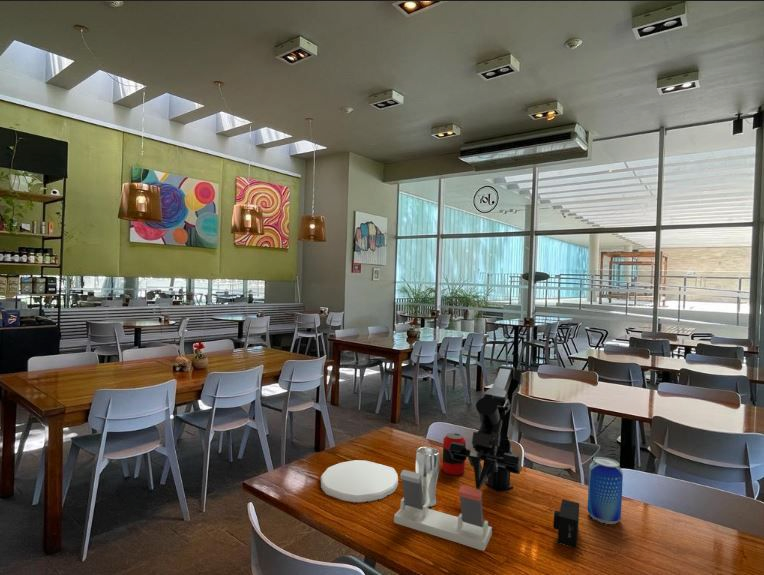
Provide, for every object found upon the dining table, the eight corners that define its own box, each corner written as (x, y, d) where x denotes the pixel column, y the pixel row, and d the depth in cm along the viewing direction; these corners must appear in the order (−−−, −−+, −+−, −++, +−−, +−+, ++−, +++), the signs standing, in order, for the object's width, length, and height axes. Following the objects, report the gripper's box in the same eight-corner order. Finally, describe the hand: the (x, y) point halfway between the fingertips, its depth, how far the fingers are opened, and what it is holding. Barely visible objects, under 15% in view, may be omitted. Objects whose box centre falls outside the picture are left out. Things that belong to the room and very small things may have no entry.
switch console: (406, 509, 122) (406, 492, 122) (491, 534, 111) (492, 516, 111) (393, 522, 114) (394, 504, 114) (484, 551, 104) (485, 531, 104)
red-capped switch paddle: (464, 517, 111) (460, 485, 107) (484, 523, 109) (481, 490, 105) (461, 524, 110) (458, 491, 106) (482, 530, 107) (479, 497, 103)
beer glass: (436, 509, 122) (439, 456, 122) (412, 506, 124) (414, 453, 124) (438, 498, 129) (440, 448, 129) (415, 494, 130) (417, 445, 130)
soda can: (467, 469, 150) (469, 435, 150) (459, 477, 144) (460, 441, 144) (447, 464, 154) (449, 430, 154) (438, 471, 148) (440, 436, 148)
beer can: (617, 514, 124) (620, 458, 124) (623, 529, 116) (626, 469, 116) (585, 508, 127) (587, 453, 127) (589, 522, 119) (591, 464, 119)
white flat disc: (348, 449, 154) (411, 466, 142) (347, 461, 154) (410, 478, 142) (303, 475, 132) (373, 497, 120) (303, 488, 132) (372, 511, 120)
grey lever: (407, 501, 118) (403, 469, 115) (424, 506, 116) (421, 474, 113) (404, 507, 117) (400, 474, 113) (422, 512, 114) (418, 479, 111)
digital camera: (556, 522, 118) (557, 497, 118) (578, 528, 116) (579, 502, 116) (552, 541, 109) (553, 514, 109) (576, 548, 106) (577, 520, 106)
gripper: (451, 413, 121) (437, 466, 111) (520, 425, 112) (511, 484, 103) (459, 432, 128) (445, 484, 118) (524, 445, 120) (515, 502, 110)
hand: (477, 488), depth 112 cm, fingers closed
